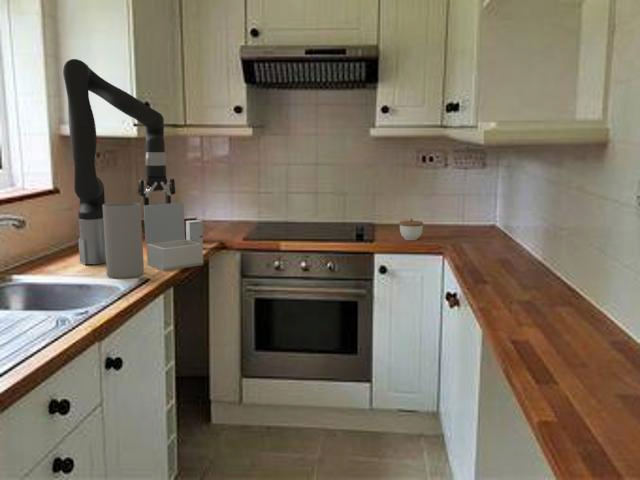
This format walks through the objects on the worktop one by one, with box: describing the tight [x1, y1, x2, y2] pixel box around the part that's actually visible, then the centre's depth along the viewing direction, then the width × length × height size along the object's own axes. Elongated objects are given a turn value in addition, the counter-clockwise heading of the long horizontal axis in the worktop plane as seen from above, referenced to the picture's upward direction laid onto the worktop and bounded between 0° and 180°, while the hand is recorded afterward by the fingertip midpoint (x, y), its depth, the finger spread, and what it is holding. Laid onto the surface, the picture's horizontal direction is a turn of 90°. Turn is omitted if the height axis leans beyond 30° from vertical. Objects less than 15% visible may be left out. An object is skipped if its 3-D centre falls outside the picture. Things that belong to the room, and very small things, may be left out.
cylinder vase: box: [103, 201, 145, 279], centre depth 225 cm, size 12×12×25 cm
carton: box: [145, 239, 204, 272], centre depth 242 cm, size 16×14×8 cm
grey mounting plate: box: [143, 201, 185, 245], centre depth 248 cm, size 16×14×6 cm
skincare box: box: [186, 219, 204, 245], centre depth 273 cm, size 6×4×12 cm
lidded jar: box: [398, 218, 424, 241], centre depth 295 cm, size 11×11×9 cm
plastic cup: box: [182, 216, 198, 240], centre depth 288 cm, size 11×11×12 cm
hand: (157, 206), depth 249 cm, fingers open, 8 cm apart
